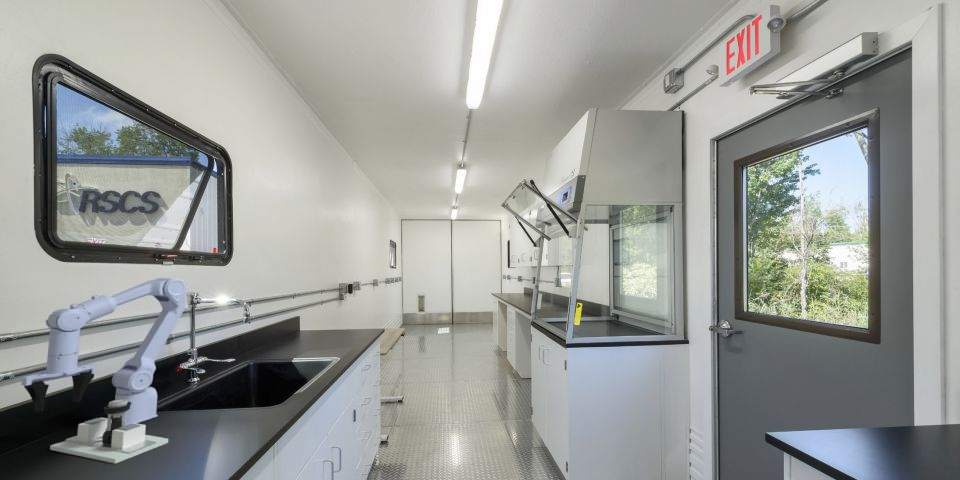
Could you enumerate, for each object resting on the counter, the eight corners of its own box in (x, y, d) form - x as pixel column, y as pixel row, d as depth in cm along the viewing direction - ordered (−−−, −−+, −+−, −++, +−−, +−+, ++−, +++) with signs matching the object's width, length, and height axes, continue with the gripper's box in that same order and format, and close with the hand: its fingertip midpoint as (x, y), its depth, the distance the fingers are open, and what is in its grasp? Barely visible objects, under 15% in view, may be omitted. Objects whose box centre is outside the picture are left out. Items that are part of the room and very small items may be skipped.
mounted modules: (100, 432, 108) (101, 416, 108) (144, 440, 103) (145, 423, 103) (77, 440, 103) (78, 423, 103) (122, 449, 98) (123, 431, 98)
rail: (93, 431, 109) (93, 430, 109) (156, 443, 102) (156, 441, 102) (65, 440, 103) (65, 439, 103) (129, 453, 96) (130, 451, 96)
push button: (91, 448, 98) (95, 407, 99) (95, 440, 102) (99, 401, 103) (127, 441, 102) (130, 402, 103) (130, 434, 106) (132, 396, 107)
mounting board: (106, 431, 112) (106, 427, 112) (168, 442, 105) (168, 438, 105) (50, 449, 100) (50, 445, 100) (115, 463, 93) (115, 459, 94)
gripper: (35, 360, 98) (30, 417, 97) (105, 349, 112) (101, 399, 111) (18, 358, 100) (13, 414, 99) (88, 348, 114) (84, 396, 113)
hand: (58, 406), depth 105 cm, fingers open, 7 cm apart
